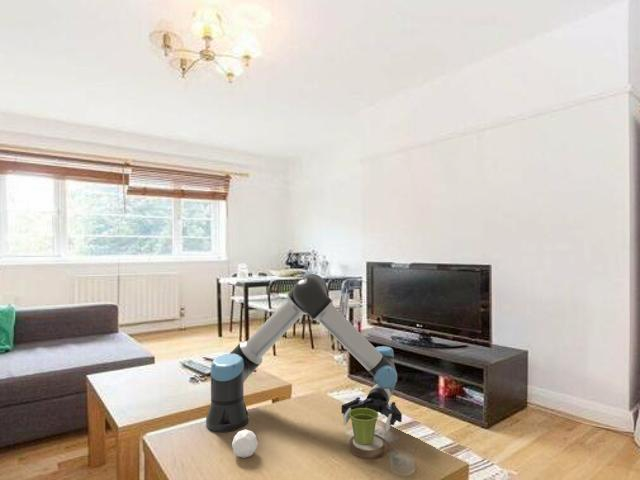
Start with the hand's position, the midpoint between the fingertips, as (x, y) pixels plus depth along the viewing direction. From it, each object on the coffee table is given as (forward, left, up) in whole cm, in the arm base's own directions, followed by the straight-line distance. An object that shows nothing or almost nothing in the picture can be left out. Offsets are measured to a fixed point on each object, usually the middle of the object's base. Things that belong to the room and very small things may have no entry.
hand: (365, 423), depth 127 cm
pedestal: (+3, +1, -9) cm, 10 cm away
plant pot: (+3, +3, -7) cm, 8 cm away
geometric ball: (-24, +29, -10) cm, 39 cm away
